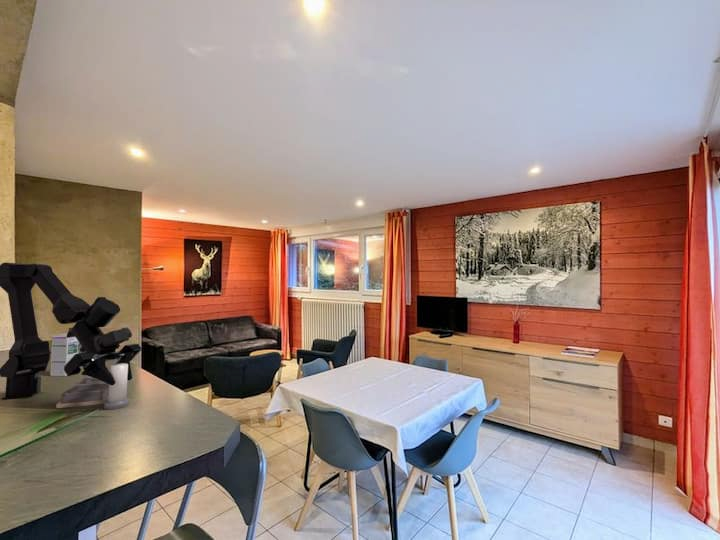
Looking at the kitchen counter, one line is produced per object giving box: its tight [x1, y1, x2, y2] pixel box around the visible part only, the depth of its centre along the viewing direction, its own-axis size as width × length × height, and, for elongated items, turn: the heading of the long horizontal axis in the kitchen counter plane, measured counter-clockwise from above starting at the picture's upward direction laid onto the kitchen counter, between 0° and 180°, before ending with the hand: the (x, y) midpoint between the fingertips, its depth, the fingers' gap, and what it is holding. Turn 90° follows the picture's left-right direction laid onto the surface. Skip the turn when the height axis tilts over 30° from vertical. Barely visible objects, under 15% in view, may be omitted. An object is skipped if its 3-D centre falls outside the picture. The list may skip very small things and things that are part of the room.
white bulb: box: [103, 363, 131, 411], centre depth 94 cm, size 6×6×11 cm
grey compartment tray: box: [55, 376, 109, 409], centre depth 102 cm, size 11×18×5 cm, turn 24°
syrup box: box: [50, 332, 81, 377], centre depth 125 cm, size 6×6×14 cm
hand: (122, 381), depth 94 cm, fingers open, 5 cm apart
